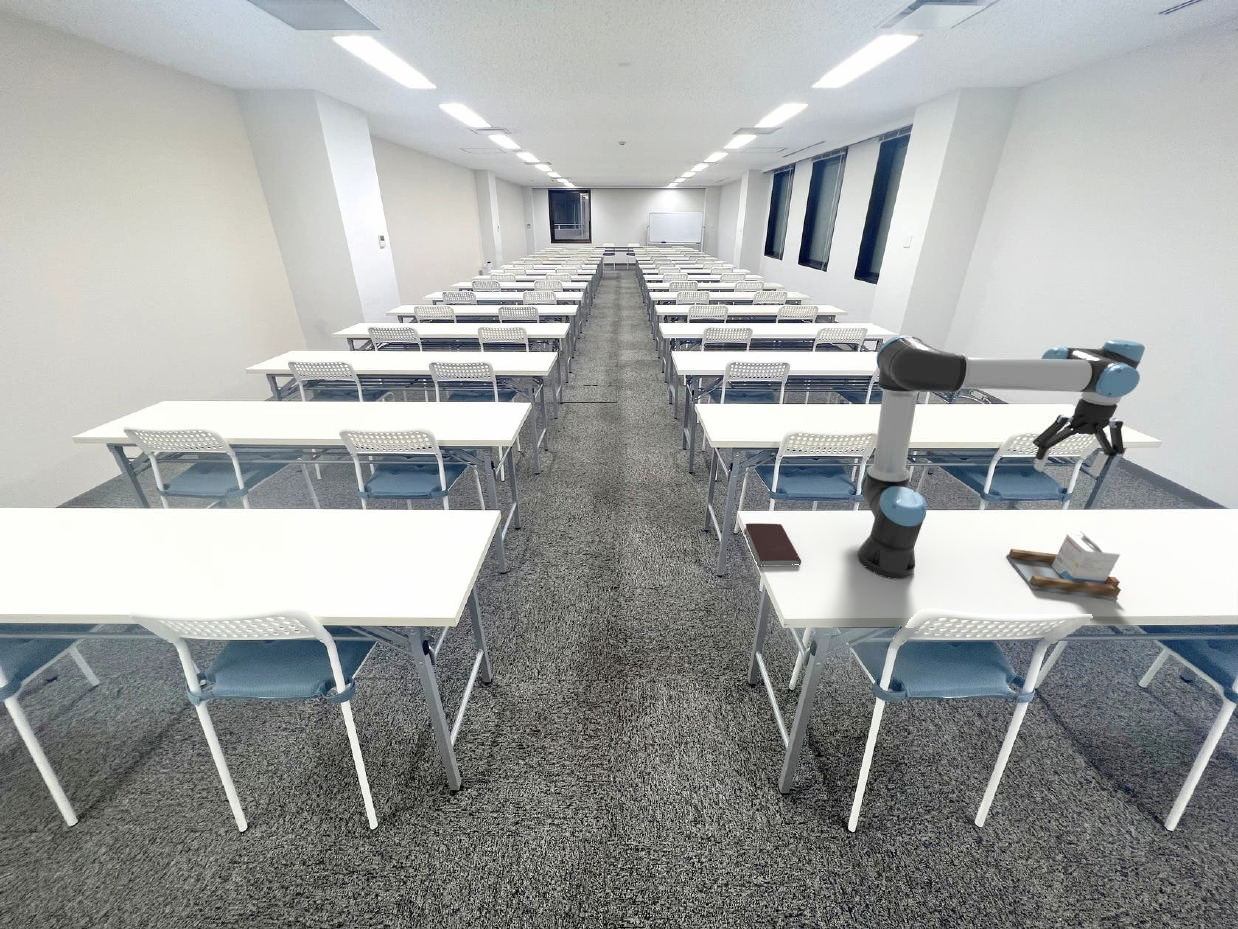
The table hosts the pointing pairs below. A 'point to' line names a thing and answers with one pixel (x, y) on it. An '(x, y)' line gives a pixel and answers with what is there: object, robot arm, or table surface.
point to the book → (771, 544)
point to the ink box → (1085, 559)
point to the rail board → (1057, 577)
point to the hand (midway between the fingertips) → (1065, 472)
